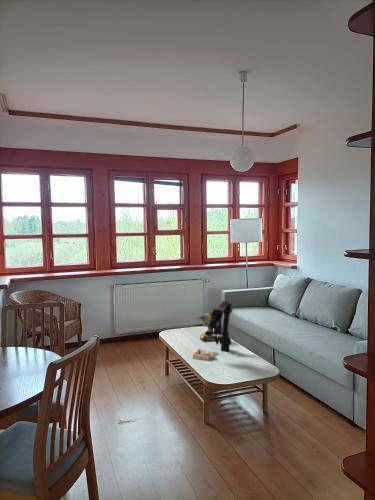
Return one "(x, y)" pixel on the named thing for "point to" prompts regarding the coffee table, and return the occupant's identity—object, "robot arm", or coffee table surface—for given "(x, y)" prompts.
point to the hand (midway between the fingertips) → (217, 344)
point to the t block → (207, 354)
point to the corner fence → (197, 356)
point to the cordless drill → (207, 320)
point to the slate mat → (213, 355)
